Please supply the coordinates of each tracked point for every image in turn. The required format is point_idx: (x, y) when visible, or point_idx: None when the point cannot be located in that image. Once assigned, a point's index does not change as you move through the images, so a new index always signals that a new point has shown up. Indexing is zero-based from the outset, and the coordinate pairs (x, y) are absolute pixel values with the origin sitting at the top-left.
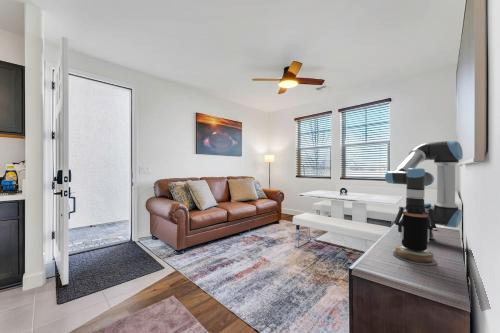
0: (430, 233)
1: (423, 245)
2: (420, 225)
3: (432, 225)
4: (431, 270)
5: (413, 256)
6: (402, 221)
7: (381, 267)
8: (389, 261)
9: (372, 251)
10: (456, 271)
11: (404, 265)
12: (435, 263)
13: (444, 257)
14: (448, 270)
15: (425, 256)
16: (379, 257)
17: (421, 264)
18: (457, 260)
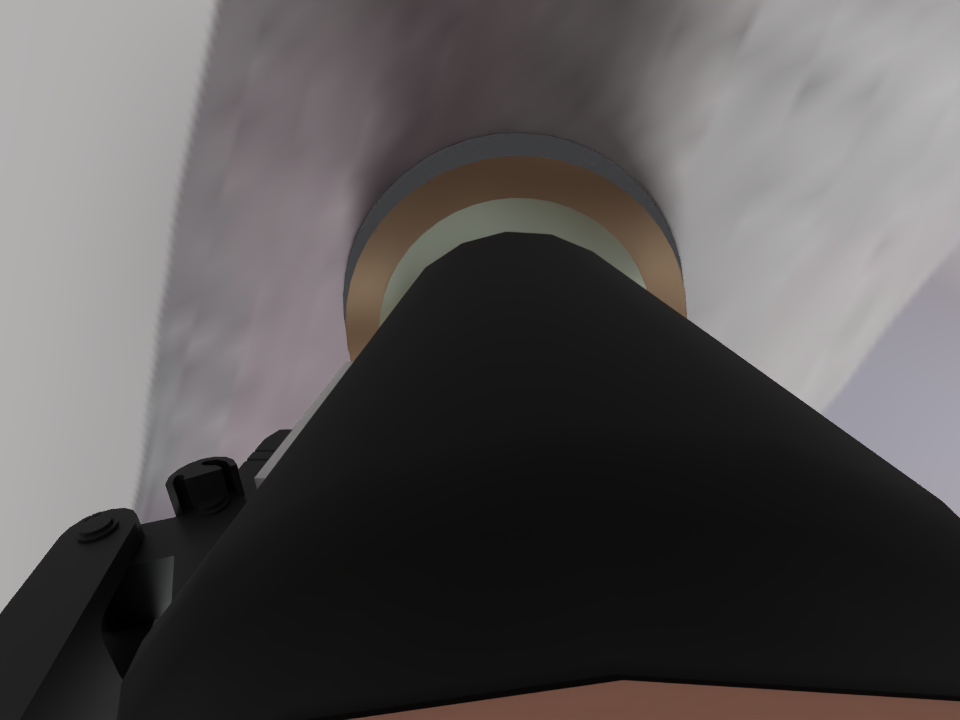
0: (273, 447)
1: (453, 252)
2: (516, 338)
3: (127, 607)
4: (466, 5)
5: (581, 167)
6: None
7: None
8: (813, 105)
9: (852, 347)
10: (237, 92)
11: (698, 41)
12: (369, 213)
13: (245, 427)
14: (302, 87)
15: (458, 182)
16: (868, 193)
17: (511, 134)
18: (164, 395)
